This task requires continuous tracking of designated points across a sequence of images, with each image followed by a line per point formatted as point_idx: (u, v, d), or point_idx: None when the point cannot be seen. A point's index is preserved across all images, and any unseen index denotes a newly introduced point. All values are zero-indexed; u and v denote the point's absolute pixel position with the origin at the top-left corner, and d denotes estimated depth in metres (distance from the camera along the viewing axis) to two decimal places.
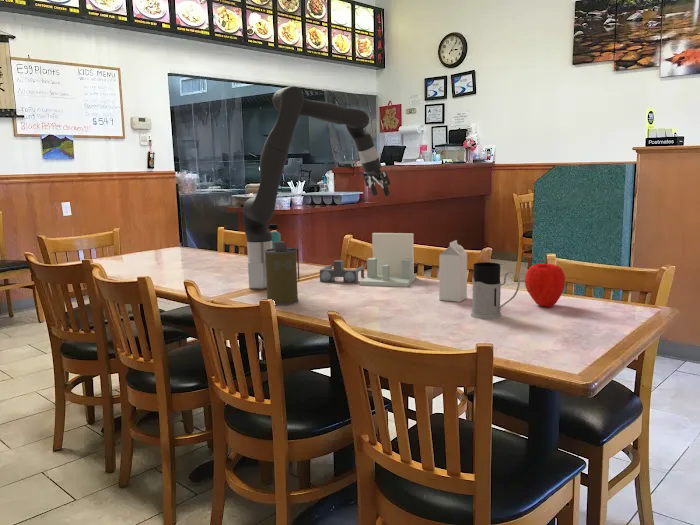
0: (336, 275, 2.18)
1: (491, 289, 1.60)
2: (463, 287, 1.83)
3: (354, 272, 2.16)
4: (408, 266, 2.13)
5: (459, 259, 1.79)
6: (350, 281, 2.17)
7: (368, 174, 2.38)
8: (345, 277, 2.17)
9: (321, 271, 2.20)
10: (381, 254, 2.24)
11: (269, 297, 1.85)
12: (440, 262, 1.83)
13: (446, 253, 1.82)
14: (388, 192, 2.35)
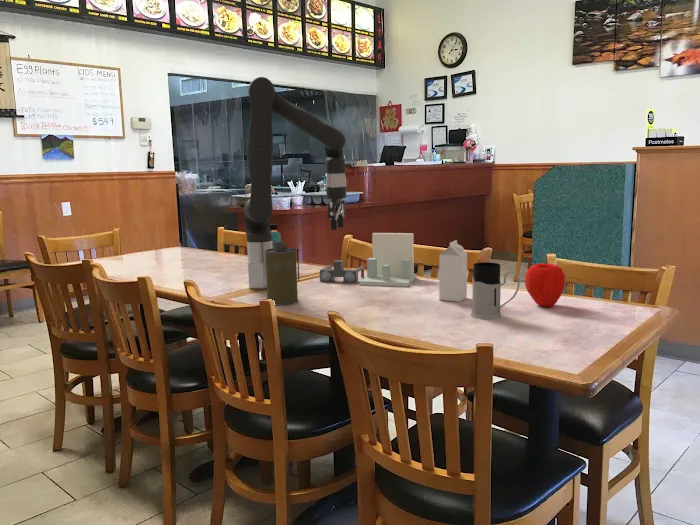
0: (336, 275, 2.18)
1: (491, 289, 1.60)
2: (463, 287, 1.83)
3: (354, 272, 2.16)
4: (408, 266, 2.13)
5: (459, 259, 1.79)
6: (350, 281, 2.17)
7: None
8: (345, 277, 2.17)
9: (321, 271, 2.20)
10: (381, 254, 2.24)
11: (269, 297, 1.85)
12: (440, 262, 1.83)
13: (446, 253, 1.82)
14: (334, 226, 2.11)
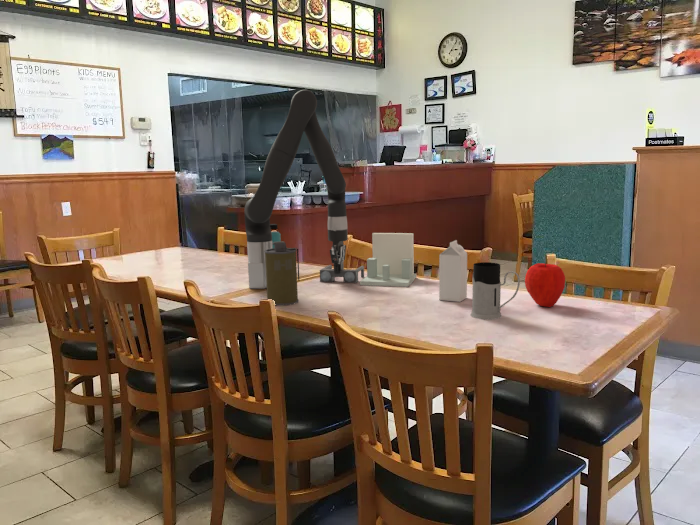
0: (336, 275, 2.18)
1: (491, 289, 1.60)
2: (463, 287, 1.83)
3: (354, 272, 2.16)
4: (408, 266, 2.13)
5: (459, 259, 1.79)
6: (350, 281, 2.17)
7: None
8: (345, 277, 2.17)
9: (321, 271, 2.20)
10: (381, 254, 2.24)
11: (269, 297, 1.85)
12: (440, 262, 1.83)
13: (446, 253, 1.82)
14: (337, 270, 2.17)
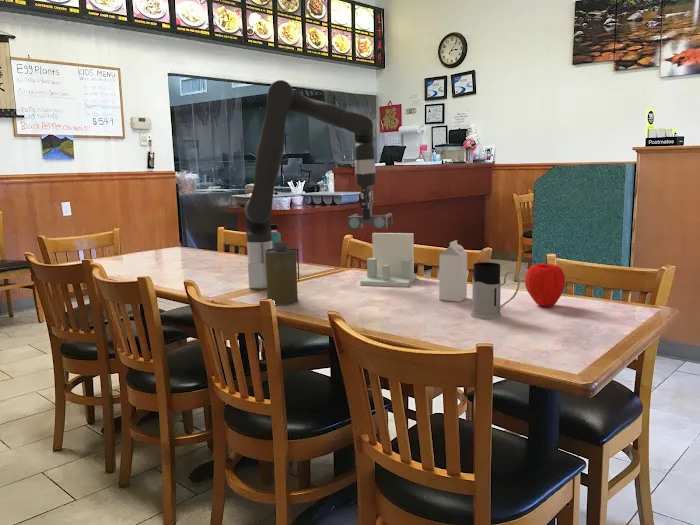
0: (365, 221, 2.11)
1: (491, 289, 1.60)
2: (463, 287, 1.83)
3: (384, 217, 2.09)
4: (408, 266, 2.13)
5: (459, 259, 1.79)
6: (380, 227, 2.10)
7: None
8: (374, 223, 2.10)
9: (349, 218, 2.13)
10: (381, 254, 2.24)
11: (269, 297, 1.85)
12: (440, 262, 1.83)
13: (446, 253, 1.82)
14: (366, 216, 2.10)
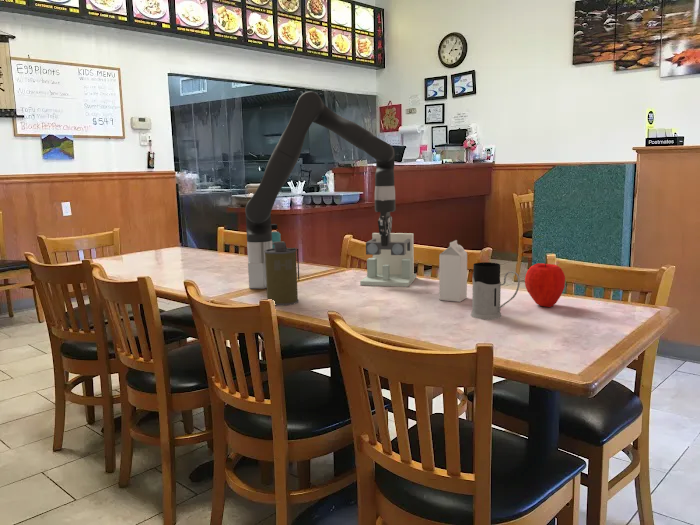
0: (383, 247, 2.10)
1: (491, 289, 1.60)
2: (463, 287, 1.83)
3: (402, 244, 2.07)
4: (408, 266, 2.13)
5: (459, 259, 1.79)
6: (398, 254, 2.08)
7: None
8: (393, 249, 2.09)
9: (367, 243, 2.11)
10: (381, 254, 2.24)
11: (269, 297, 1.85)
12: (440, 262, 1.83)
13: (446, 253, 1.82)
14: (384, 242, 2.08)
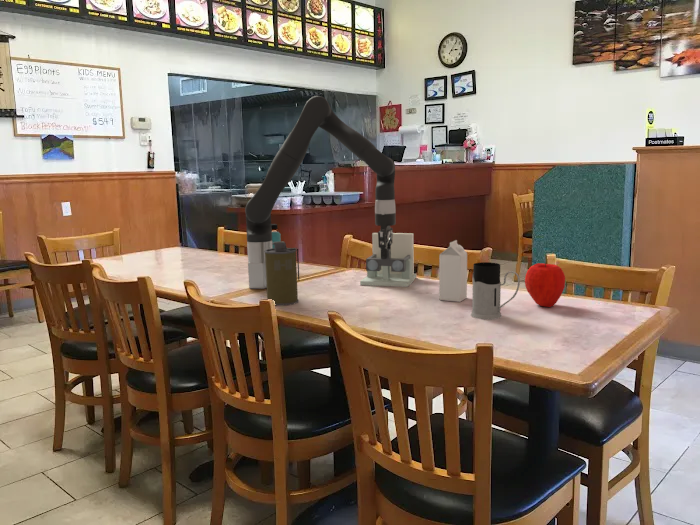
0: (383, 264, 2.11)
1: (491, 289, 1.60)
2: (463, 287, 1.83)
3: (402, 261, 2.08)
4: (408, 266, 2.13)
5: (459, 259, 1.79)
6: (398, 270, 2.09)
7: None
8: (393, 266, 2.10)
9: (367, 260, 2.12)
10: None
11: (269, 297, 1.85)
12: (440, 262, 1.83)
13: (446, 253, 1.82)
14: (384, 255, 2.07)
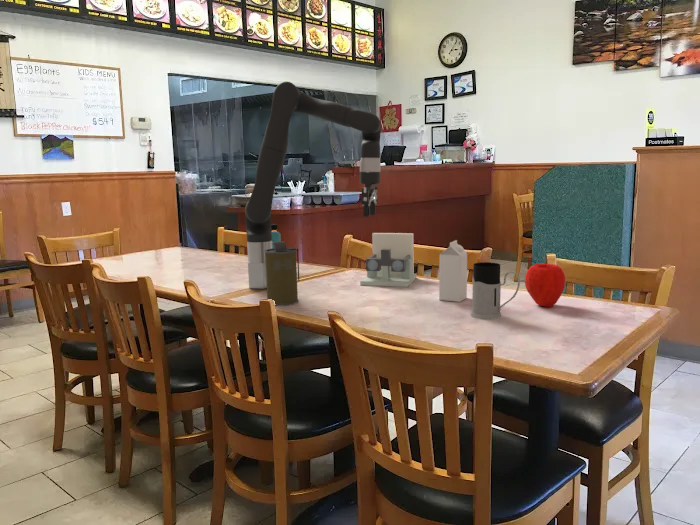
0: (383, 264, 2.11)
1: (491, 289, 1.60)
2: (463, 287, 1.83)
3: (402, 261, 2.08)
4: (408, 266, 2.13)
5: (459, 259, 1.79)
6: (398, 270, 2.09)
7: None
8: (393, 266, 2.10)
9: (367, 260, 2.12)
10: None
11: (269, 297, 1.85)
12: (440, 262, 1.83)
13: (446, 253, 1.82)
14: (366, 212, 2.04)
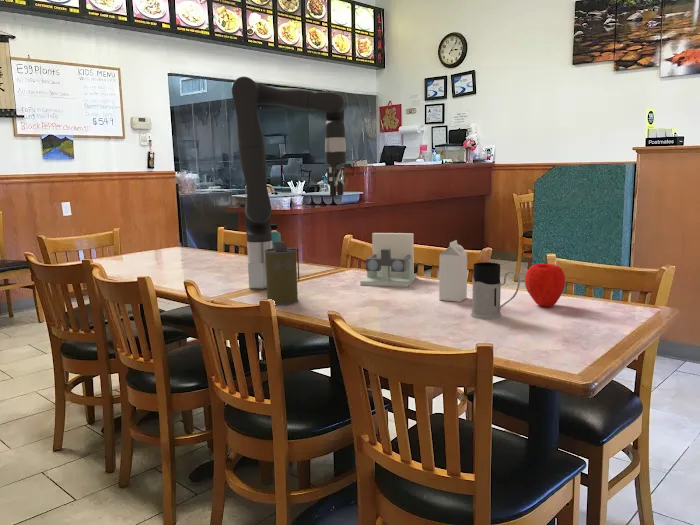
0: (383, 264, 2.11)
1: (491, 289, 1.60)
2: (463, 287, 1.83)
3: (402, 261, 2.08)
4: (408, 266, 2.13)
5: (459, 259, 1.79)
6: (398, 270, 2.09)
7: None
8: (393, 266, 2.10)
9: (367, 260, 2.12)
10: None
11: (269, 297, 1.85)
12: (440, 262, 1.83)
13: (446, 253, 1.82)
14: (333, 193, 2.03)
